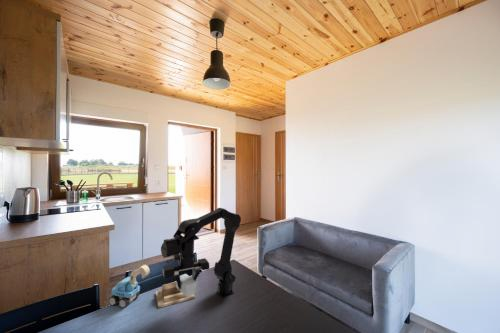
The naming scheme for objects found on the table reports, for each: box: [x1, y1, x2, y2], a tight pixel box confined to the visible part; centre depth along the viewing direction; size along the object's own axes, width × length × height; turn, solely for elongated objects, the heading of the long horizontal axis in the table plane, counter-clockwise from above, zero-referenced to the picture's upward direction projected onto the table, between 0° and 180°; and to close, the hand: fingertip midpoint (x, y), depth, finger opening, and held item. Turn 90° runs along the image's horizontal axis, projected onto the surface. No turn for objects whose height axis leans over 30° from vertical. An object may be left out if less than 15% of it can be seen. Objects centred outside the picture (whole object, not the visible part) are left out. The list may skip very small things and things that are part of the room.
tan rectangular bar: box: [161, 281, 181, 299], centre depth 103 cm, size 11×4×4 cm, turn 119°
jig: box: [155, 289, 196, 309], centre depth 103 cm, size 16×12×3 cm
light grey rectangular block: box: [175, 273, 197, 297], centre depth 92 cm, size 9×4×4 cm, turn 44°
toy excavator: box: [108, 264, 151, 309], centre depth 98 cm, size 9×17×17 cm, turn 78°
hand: (186, 287), depth 92 cm, fingers closed on light grey rectangular block, 5 cm apart
